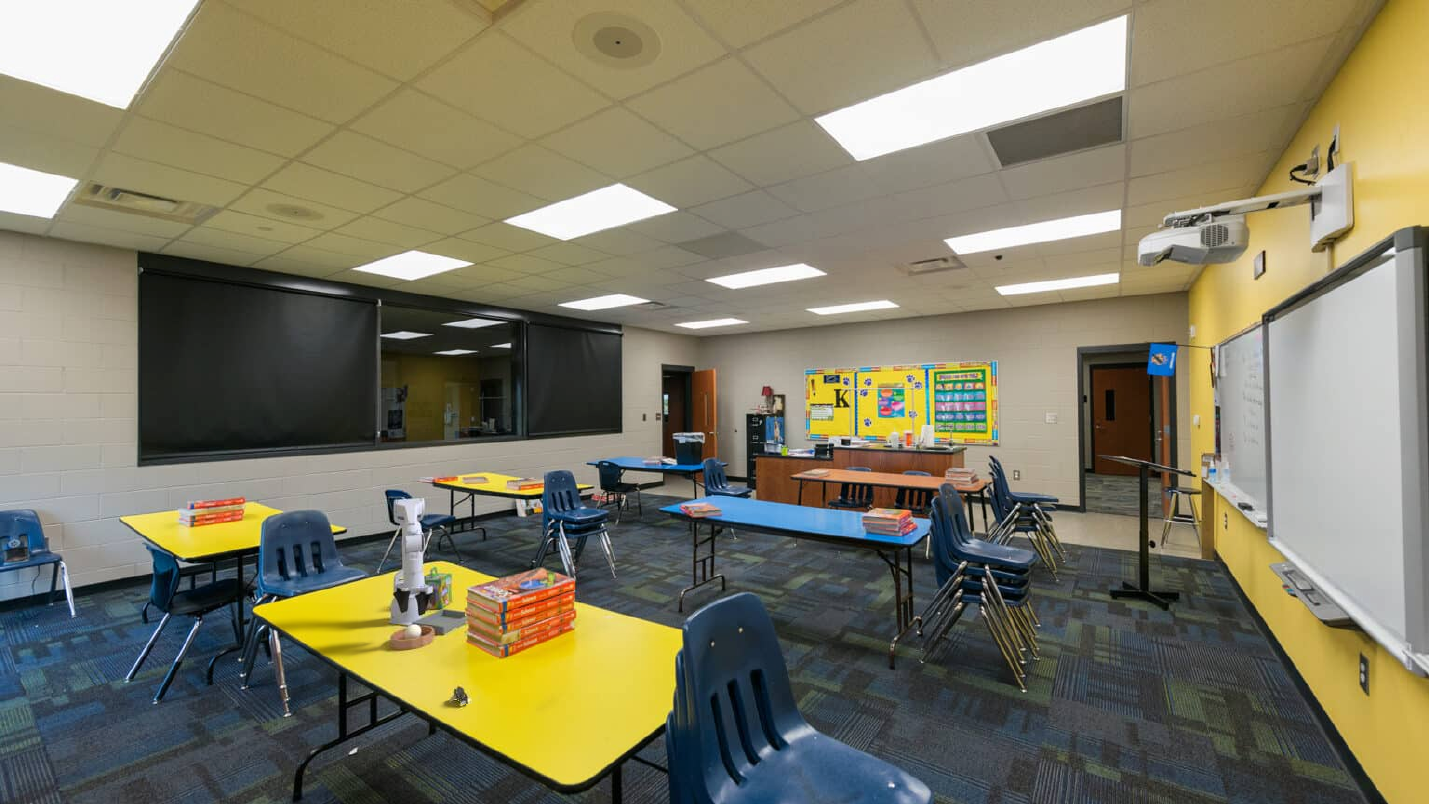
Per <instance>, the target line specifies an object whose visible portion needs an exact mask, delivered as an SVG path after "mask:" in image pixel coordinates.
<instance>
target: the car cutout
mask: <svg viewBox="0 0 1429 804" xmlns="http://www.w3.org/2000/svg"><path fill="white" fill-rule="evenodd" d="M454 699H457V700H459V701H461V702H460V704H459V707H460V706H461V705H463V704H465V703H466V704H467V705H469V704H468V702H470V701H472V698H469V696H468V694H467V693H466V692H465V688H463V687H462V686H459V685H457V687H456V688H454V690H453V695H452V696H451V697H450V699H449V703H452V702H454V701H453V700H454ZM457 700H456V701H457ZM451 701H452V702H451ZM459 701H458V702H459Z"/></svg>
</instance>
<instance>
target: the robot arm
mask: <svg viewBox="0 0 1429 804" xmlns="http://www.w3.org/2000/svg"><path fill="white" fill-rule="evenodd" d="M425 503H426V502H425V498H423V497H418V498H404V499H403V498H402V499H395V500H393V520H394V523H397V524H400V528H401V535H402V536H401V538H402V539H401V552H402V553H401V555H402V556H401V557H402V559H401V560H402V561H401V562H402V567H401V568H402V569H400V570H399V571H398V572H396V574H395V575H394V576H393V584H392V585H393V586H392V587H393V593H392V596H393V598H392V600H391V603H390V620H388V624H393V625H400V626H404V627H405V626H407V627H408V626H410V625H412V622H414V621H416V620H418V619H421V618H423V617H424V616H422V615H426V612H427V610H428V609H427V605H428V602H429V600H430V598H431V596H432V595H433V587H432V586H428V585H426V584H425V580H424V576H425V574H424V551H425V549H426V548H425V547H426V545H425V543H426V539H425V535H424V533H423V531H422V524H421V523H420V522H421V521H422V520H423V518H424V514H425V508H426V507H425Z"/></svg>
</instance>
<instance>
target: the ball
mask: <svg viewBox="0 0 1429 804" xmlns="http://www.w3.org/2000/svg"><path fill="white" fill-rule="evenodd" d="M405 628H406V629H405V632H404V637H405V638H406V639H407V640H409V639H415V638H419V636H420V635H421V628H420V627H419V626H418V625H412V624H411V625H409V626H407V627H405Z"/></svg>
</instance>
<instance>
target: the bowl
mask: <svg viewBox="0 0 1429 804" xmlns="http://www.w3.org/2000/svg"><path fill="white" fill-rule="evenodd" d="M419 627H420V628H421V635H420V636H419V638H415V639H409V640H407V639H406V638H405V637H404V632H405V629H406V628H407V627H405V628H401V629H399V630H397V631H394V632H393V633H392V634H391V635H390V637H389V640H390V641H389V642H390V643H389V644H390V647H391V649H392V650H393V649H394V650H397V651H409V650H415V649H419V648H422V647H425V646H427V645H430V644H431V643H433V641H434V639H435V634H434V629H433V628H432V627H430V626H419Z"/></svg>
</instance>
